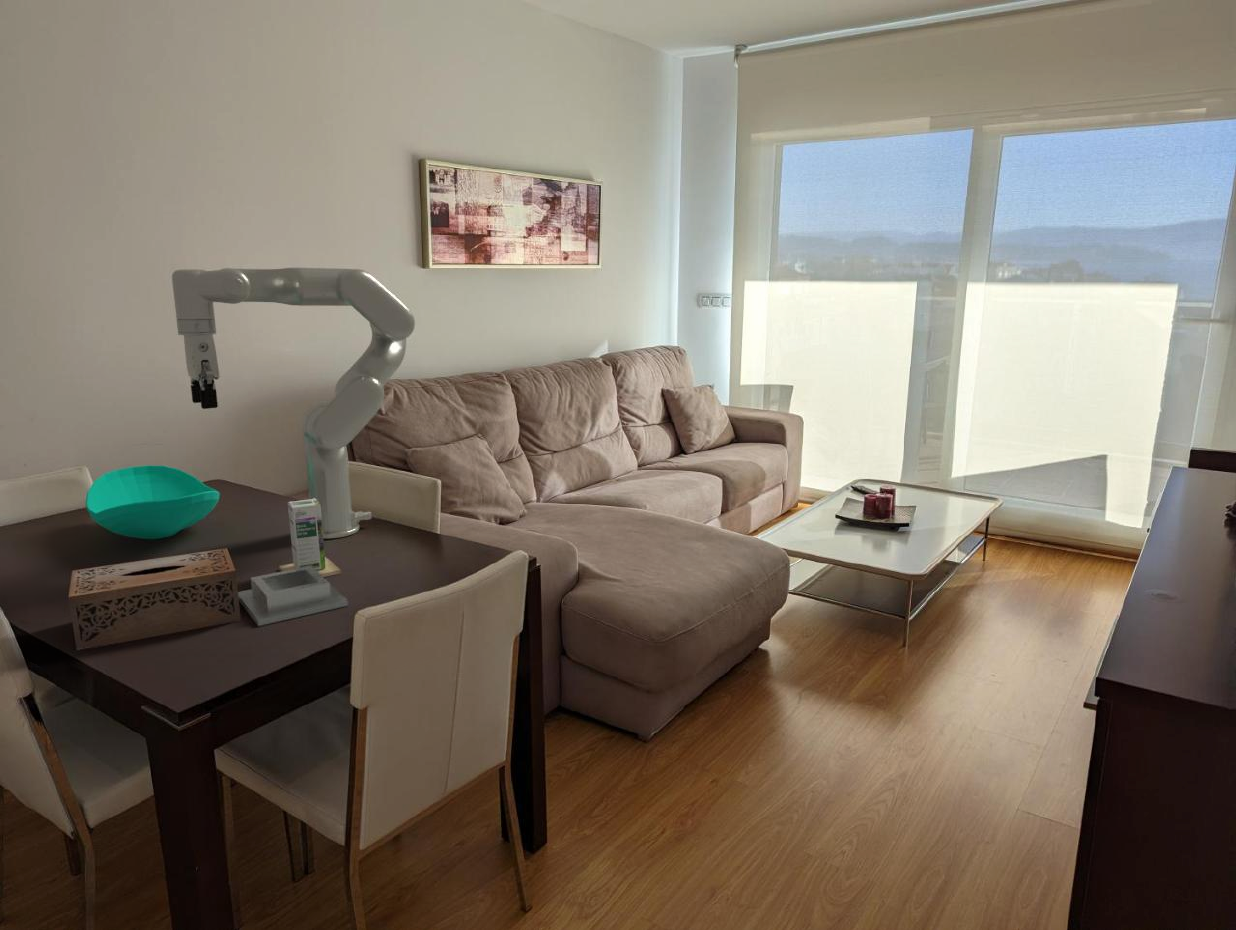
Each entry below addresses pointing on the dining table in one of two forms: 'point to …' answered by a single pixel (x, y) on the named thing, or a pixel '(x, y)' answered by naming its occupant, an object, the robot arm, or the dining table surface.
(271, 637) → the dining table surface
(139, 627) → the tissue box cover
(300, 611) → the gray stepped square frame
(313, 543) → the syrup box
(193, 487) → the table top decor
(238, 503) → the dining table surface
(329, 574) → the cork mat
